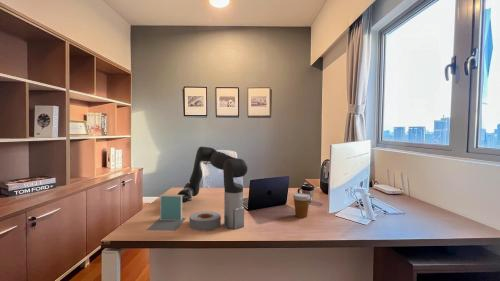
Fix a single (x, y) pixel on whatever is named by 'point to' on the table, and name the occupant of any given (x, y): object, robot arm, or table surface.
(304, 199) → the disposable coffee cup
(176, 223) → the mat
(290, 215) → the table surface
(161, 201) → the tile
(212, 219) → the tape roll
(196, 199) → the table surface
